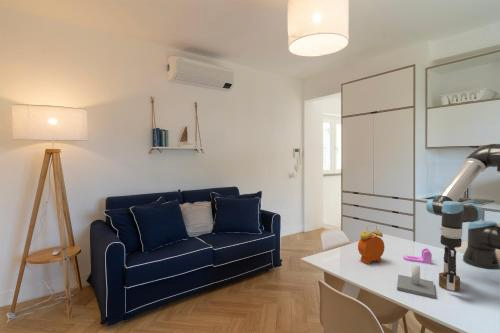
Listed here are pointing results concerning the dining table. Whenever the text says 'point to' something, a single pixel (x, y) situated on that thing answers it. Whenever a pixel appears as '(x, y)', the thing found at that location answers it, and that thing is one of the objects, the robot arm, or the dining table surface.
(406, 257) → the bracket
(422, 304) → the dining table surface
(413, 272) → the post
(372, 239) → the alarm clock
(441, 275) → the collar
